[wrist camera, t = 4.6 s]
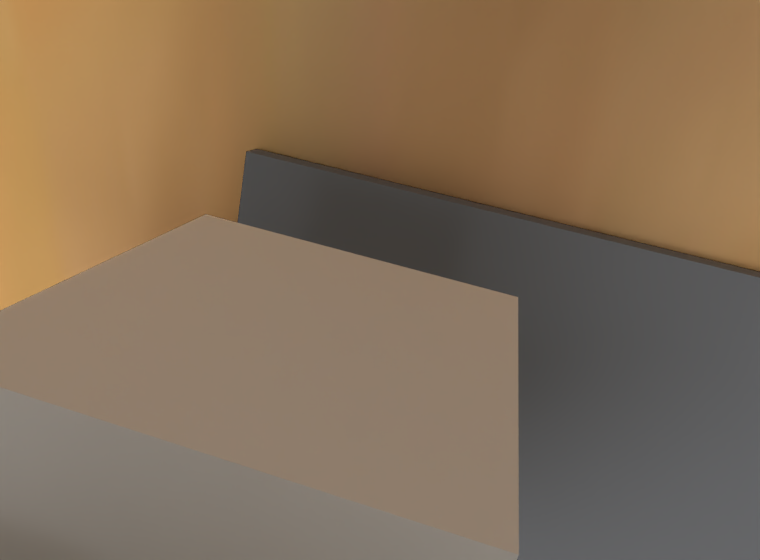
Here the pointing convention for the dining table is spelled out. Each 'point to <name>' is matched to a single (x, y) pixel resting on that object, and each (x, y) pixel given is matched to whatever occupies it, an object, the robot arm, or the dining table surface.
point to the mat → (578, 359)
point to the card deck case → (258, 408)
